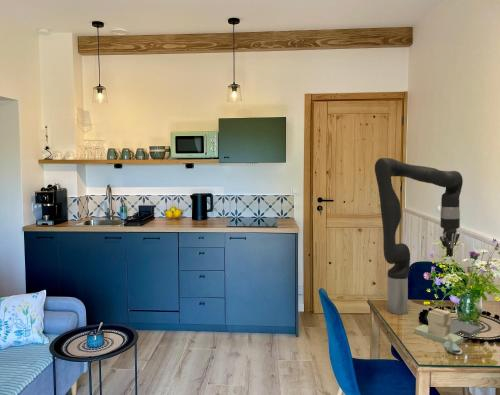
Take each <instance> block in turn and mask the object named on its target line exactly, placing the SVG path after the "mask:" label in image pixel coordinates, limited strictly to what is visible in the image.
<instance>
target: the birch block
mask: <svg viewBox="0 0 500 395" xmlns="http://www.w3.org/2000/svg"><path fill="white" fill-rule="evenodd" d="M427 315H428V316H427V317H428V318H427V319H428V320H427V321H428V322H427V323H428V325H427V326H428V333H430V334H433V335H436V336H439V337H442V338H443V337H445V336H446V335H448V334H450V319H451V312H450V311H448V310H444V309H440V308H437V307H436V308H434V309H430V310H429V311H428V314H427Z"/></svg>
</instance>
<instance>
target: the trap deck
mask: <svg viewBox="0 0 500 395" xmlns="http://www.w3.org/2000/svg"><path fill="white" fill-rule="evenodd" d="M481 329H482V328H481V327H480V326H476V325H474V324H470V323H466V322H464V321H460V320H457V319H452V318H450V334H448V335H446V336H445V337H443V338H442V337H439V336H436V335H433V334H430V333H428V325H427V324H421V325H419V326H417V327H415V328H414V334H416V335H419V336H421V337H425V338H427V339H430V340H432V341H437V342H439V343H440V344H441V343H442V344H445V342H447V341H448V336H449V335H451V337H452V341H453V343H455V344H456V345H457V346H459V345H461V344H463V343H464V342H466V341H467V340H469V339H468V338H463V337H461V336H458V334H460V333H461V334H464V335H467V336H472V335H474V334H476V335H477V333H478V334H480V333H481ZM479 332H480V333H479ZM474 336H475V335H474Z"/></svg>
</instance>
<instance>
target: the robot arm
mask: <svg viewBox="0 0 500 395" xmlns="http://www.w3.org/2000/svg"><path fill="white" fill-rule="evenodd" d="M374 172H375V173H374V174H375V177H376V183H377V187H378V195H379V203H380V207H379V208H380V215H381V221H382V231H383V232H382V236H383V238H382V241H383V243H382V244H383V245H382V246H383V255H384V256H383V257H384V259H385V262H386V263H387V264H389V265H392V267H390V268H389V269H388V270H387V311H388V312H389V313H391V314H395V315H405V314H408V311H409V310H408V307H409V304H408V302H409V299H408V298H409V297H408V295H409V294H408V293H409V291H408V290H409V288H408V287H409V286H408V285H409V284H408V283H409V280H408V277H409V273H410V268H411V267H410V265H411V252H410V249H409V247H408V245H407V244H405V243H396V233H397V229H398V227H399V225H400V222H401V220H402V206H401V202H400V200H399V197H398V195H397V193H396V192H395V190H394V187H393V182H392V177H405V178H409V179H411V180H414V181H416V182H417V181H418V182H421V183H427V184H432V185H435V186H438V187H442V188H445V191H444V193H442V194H441V199H440V200H441V203H440V206H441V207H440V224H439V225H440V228H442V229H443V232H442V236H440V237H439V240H440V242H441V245H442V247H443V248H445V249H446V253H445V255H446V257H448V258H450V257H453V256H454V248H455V247H456V246H457V244H456V243H458V241H459V238H460V236H461V234H460V233H457V232H458V231H457V230H458V229H459V228H461V225H460V224H461V221H460V220H461V210H460V195H461V192H462V190H463V189H462V188H463V182H464V181H463V180H464V179H463V176H462V174H461V173H460V172H459V171H457V170H440V169H437V168H435V167H434V168H433V167H429V166H423V165H415V164H408V163H404V162H401V161H399V160H396V159H394V158H390V157H389V158H388V157H380V158H378V159H377V160H376V162H375V164H374ZM449 243H450V244H449ZM454 243H455V244H454ZM448 255H449V256H448Z"/></svg>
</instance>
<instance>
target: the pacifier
mask: <svg viewBox="0 0 500 395" xmlns="http://www.w3.org/2000/svg"><path fill="white" fill-rule="evenodd" d="M443 344H444V343H443ZM444 347H445V348H446V351H448V352H449V353H451V354H455V355H462V354H463V353H464V352H463V351H464V350H462V348H460V347H459V345H456V344H455V343H453V341H452V337H451V335H449V336H448V341H447V342H445V344H444Z"/></svg>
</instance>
